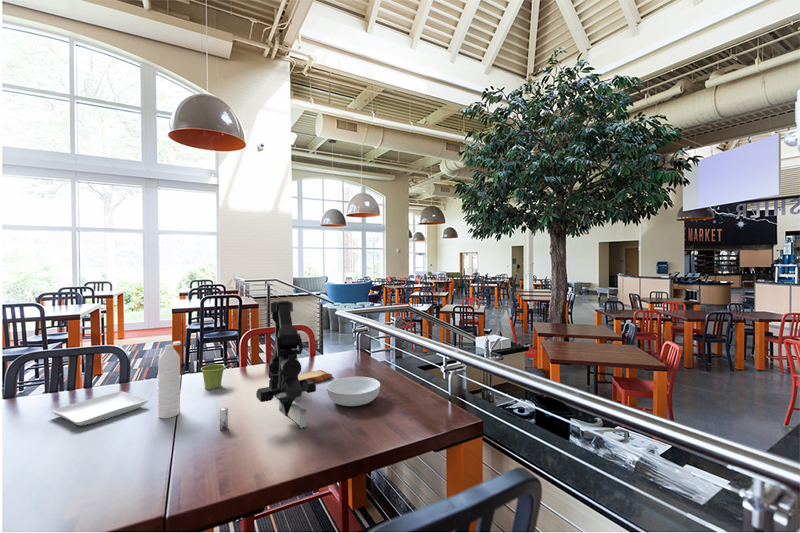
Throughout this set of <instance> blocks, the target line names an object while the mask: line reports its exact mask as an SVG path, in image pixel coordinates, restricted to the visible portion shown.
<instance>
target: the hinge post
mask: <svg viewBox="0 0 800 533" xmlns="http://www.w3.org/2000/svg"><path fill="white" fill-rule="evenodd" d="M279 410H280V411H279ZM278 411H279V412H283V407H282V405H281V402H280V401H279V400H278Z"/></svg>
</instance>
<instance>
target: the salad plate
mask: <svg viewBox="0 0 800 533" xmlns="http://www.w3.org/2000/svg"><path fill="white" fill-rule="evenodd" d="M147 403H149V399H148V398H145V397H141V396H139V395H135V394H132V393H129V392H126V391H123V390H120V391H116V392H113V393H109V394H105V395H101V396H96V397H93V398H89V399H85V400H82V401H78V402H75V403H71V404H68V405H65V406H61V407H58V408H54V409H52V410H51V413H53V414H54V415H55V416H58V417H60V418H63V419H65V420H67V421H70V422H72V423H73V424H75V425H76V426H88V425H92V424H91V423H93V424H95V423H94V422H96V423H98V422H97V421H99V422H101V421H100V420H102V421H104V420H103V419H105V420H107V419H106V418H109V419H111V418H110V417H112V418H114V417H113V416H115V417H117V416H116V415H118V416H120V415H119V414H121V415H123V414H122V413H124V414H126V412H127V413H130V412H133V411H134V410H136V409H139V408H141V407H143V406H144V405H146V404H147ZM87 424H88V425H87Z"/></svg>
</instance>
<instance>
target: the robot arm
mask: <svg viewBox="0 0 800 533" xmlns="http://www.w3.org/2000/svg"><path fill="white" fill-rule="evenodd" d="M292 312H294V303H293V301H289V300H275V301H274V300H273V302H271V303H270V304H269V314H271V317H272V318H271V319H272V321H274V324H275V325H274V352H273V353H272V355H271V357H270V359H269V363H268V365H267V366H268V367H267V376H268V378H269V381H268V386H266V387H261V388H258V389H257V390H256V395H255V396H256V398H257V399H258V401H259V402H261V403H265V402H270V401H272V400H273V399H274V397H275V398H276V399H277V400H278V402H279V401H280V402H281V405H282V407H283V410H284V412H283V413H284V416H285V417H288V413H289V410H290V408H291V405H292V403H293V401H294V402H295V399H297V398H300V397H302V394H303V393H305V392H306V393H307V394H310V393H311V394H312V393H315V392H317V383H313V382H312V381H310V380H299V379H298V375H300V374H301V371H302V365H301V362H300V361H299V359H298V355H302V354H303V352H302V351H303V349H304V347H303V339H302V337H301V335H300V334H299V333H298V330H297V328H296V327H295V326H294V325H293V320H292V314H291V313H292Z"/></svg>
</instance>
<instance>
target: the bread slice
mask: <svg viewBox="0 0 800 533" xmlns="http://www.w3.org/2000/svg"><path fill="white" fill-rule="evenodd" d="M332 377H333V374H332V373H328V372H326V371H324V370H321V369H317V370H312V371H308V372H305V373H299V375H298V379H299V380H310V381H312V382H313V383H315V384H317V383H321V382H324V381H326V379H327V380H329V378H330V379H331V378H332ZM323 380H324V381H323ZM320 381H321V382H320ZM316 382H317V383H316Z"/></svg>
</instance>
